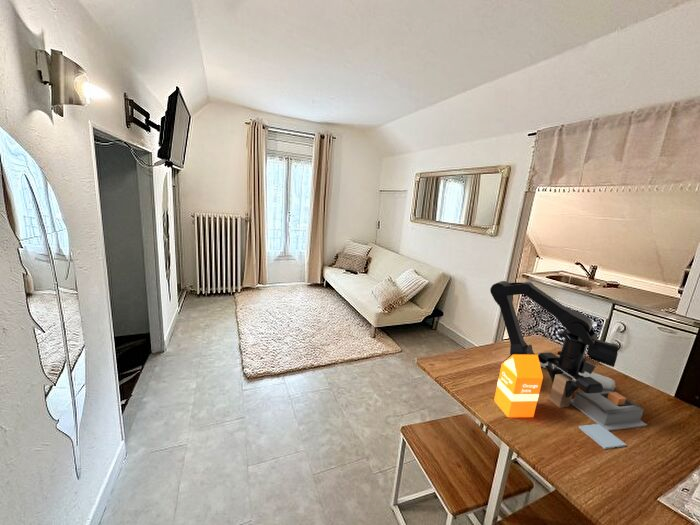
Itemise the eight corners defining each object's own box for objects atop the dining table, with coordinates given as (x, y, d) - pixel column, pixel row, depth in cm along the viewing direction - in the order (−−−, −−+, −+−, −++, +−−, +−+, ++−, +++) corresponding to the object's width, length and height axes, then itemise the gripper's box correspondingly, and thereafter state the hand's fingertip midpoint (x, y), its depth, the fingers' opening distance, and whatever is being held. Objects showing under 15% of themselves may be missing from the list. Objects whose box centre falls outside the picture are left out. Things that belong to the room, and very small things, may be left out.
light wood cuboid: (559, 407, 93) (566, 381, 91) (548, 399, 97) (555, 374, 95) (568, 406, 94) (576, 381, 92) (558, 398, 98) (564, 373, 96)
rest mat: (604, 449, 78) (605, 447, 78) (578, 427, 85) (578, 425, 85) (625, 446, 79) (626, 444, 79) (598, 425, 87) (598, 423, 86)
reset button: (616, 405, 90) (618, 399, 90) (607, 398, 93) (608, 392, 92) (624, 404, 91) (626, 398, 90) (614, 398, 93) (616, 392, 93)
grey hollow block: (607, 431, 84) (611, 417, 83) (567, 400, 97) (570, 388, 96) (646, 426, 87) (651, 412, 86) (603, 397, 100) (606, 385, 99)
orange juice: (493, 400, 95) (504, 348, 90) (517, 400, 96) (529, 348, 91) (508, 418, 87) (520, 361, 83) (534, 417, 88) (547, 361, 84)
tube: (615, 378, 106) (538, 352, 121) (618, 380, 101) (538, 353, 116) (612, 392, 105) (535, 364, 120) (615, 395, 101) (535, 366, 116)
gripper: (623, 367, 84) (609, 411, 87) (566, 337, 102) (556, 374, 105) (593, 369, 82) (580, 414, 85) (540, 338, 99) (531, 376, 103)
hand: (561, 392), depth 95 cm, fingers closed on light wood cuboid, 4 cm apart
